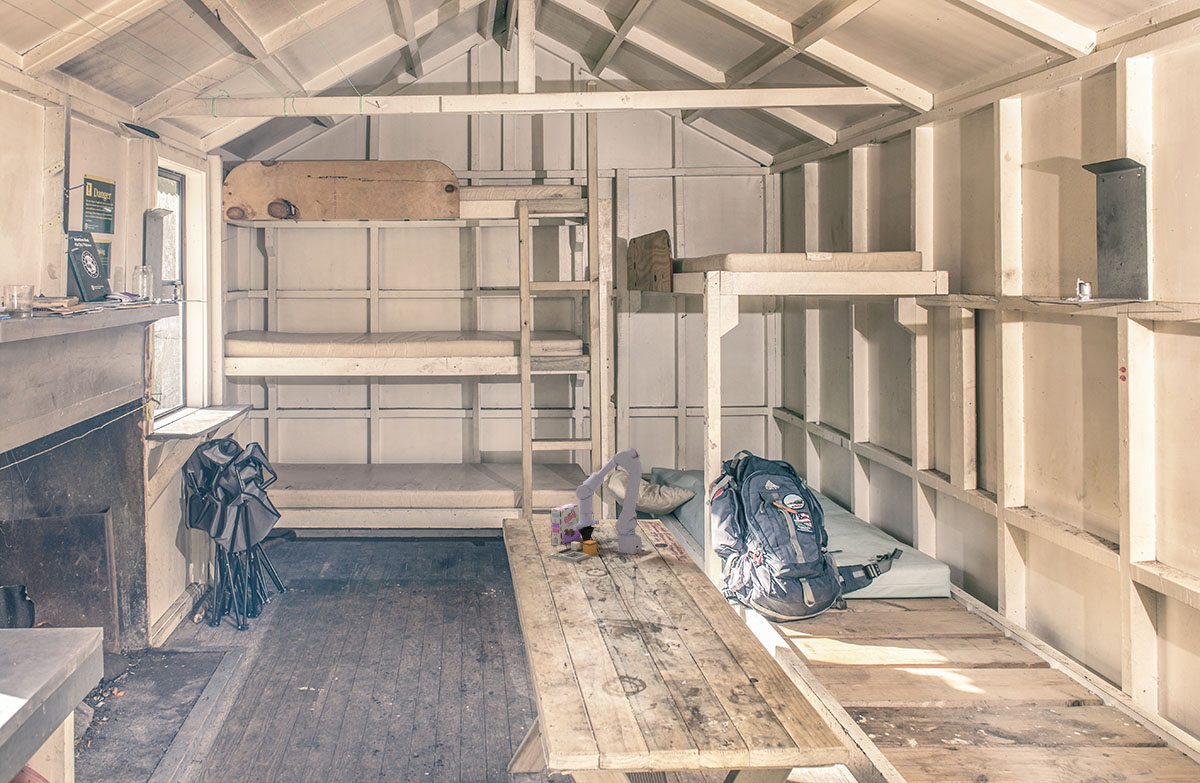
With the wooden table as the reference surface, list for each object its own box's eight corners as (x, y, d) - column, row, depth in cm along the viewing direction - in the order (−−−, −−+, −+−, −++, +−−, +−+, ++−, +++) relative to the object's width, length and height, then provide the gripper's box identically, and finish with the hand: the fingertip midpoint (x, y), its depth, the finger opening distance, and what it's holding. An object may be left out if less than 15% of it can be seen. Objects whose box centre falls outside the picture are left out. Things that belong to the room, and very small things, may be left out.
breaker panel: (602, 556, 386) (602, 550, 386) (572, 566, 372) (572, 560, 372) (575, 550, 396) (574, 544, 396) (545, 560, 383) (544, 554, 382)
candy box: (561, 547, 402) (560, 510, 400) (551, 546, 405) (549, 508, 404) (581, 540, 413) (580, 504, 411) (570, 538, 416) (569, 502, 415)
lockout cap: (597, 553, 386) (596, 541, 385) (590, 555, 383) (590, 543, 382) (589, 551, 389) (589, 539, 388) (583, 553, 385) (582, 542, 385)
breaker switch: (580, 549, 391) (580, 542, 391) (576, 550, 390) (576, 543, 389) (574, 548, 394) (574, 541, 393) (571, 549, 392) (570, 542, 391)
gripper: (590, 508, 403) (591, 538, 405) (566, 514, 393) (568, 546, 394) (602, 510, 399) (603, 541, 400) (579, 516, 388) (580, 548, 389)
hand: (586, 543), depth 397 cm, fingers closed
